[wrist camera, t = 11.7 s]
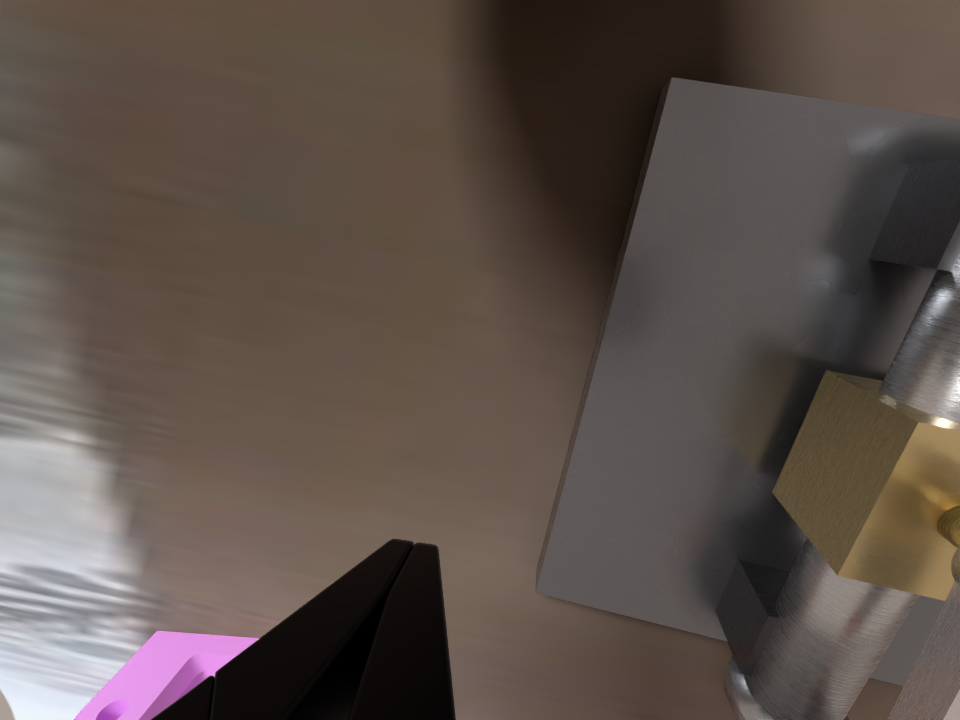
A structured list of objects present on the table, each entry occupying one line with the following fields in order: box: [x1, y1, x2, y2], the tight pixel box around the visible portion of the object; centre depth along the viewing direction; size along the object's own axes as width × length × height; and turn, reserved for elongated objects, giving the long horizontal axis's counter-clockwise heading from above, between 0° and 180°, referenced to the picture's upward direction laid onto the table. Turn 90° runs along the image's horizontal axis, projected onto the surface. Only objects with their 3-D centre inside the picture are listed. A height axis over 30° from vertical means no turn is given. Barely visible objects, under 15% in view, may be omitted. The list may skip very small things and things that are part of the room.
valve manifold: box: [535, 77, 960, 720], centre depth 15 cm, size 22×20×8 cm
